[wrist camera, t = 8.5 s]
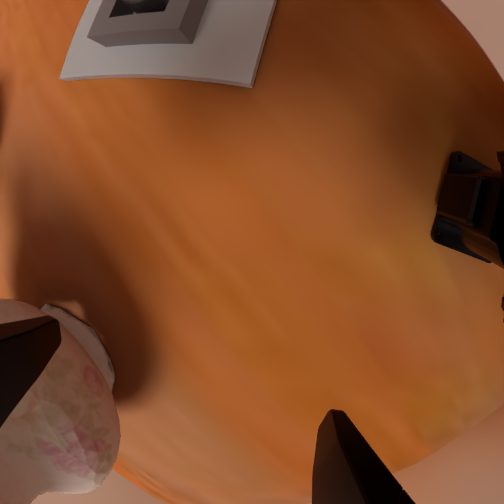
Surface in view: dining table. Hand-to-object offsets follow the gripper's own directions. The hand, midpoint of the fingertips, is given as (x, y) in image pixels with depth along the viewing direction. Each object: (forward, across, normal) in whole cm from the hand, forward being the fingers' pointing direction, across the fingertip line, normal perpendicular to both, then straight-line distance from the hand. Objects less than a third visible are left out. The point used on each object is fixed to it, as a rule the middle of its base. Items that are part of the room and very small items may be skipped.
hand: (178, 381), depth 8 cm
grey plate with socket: (+12, +10, -17) cm, 23 cm away
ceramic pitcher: (+12, +16, +15) cm, 25 cm away
